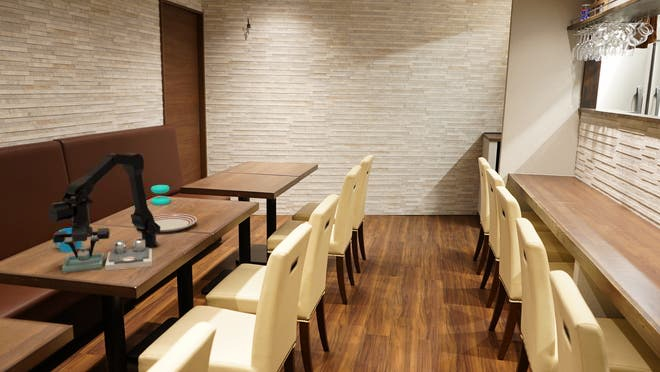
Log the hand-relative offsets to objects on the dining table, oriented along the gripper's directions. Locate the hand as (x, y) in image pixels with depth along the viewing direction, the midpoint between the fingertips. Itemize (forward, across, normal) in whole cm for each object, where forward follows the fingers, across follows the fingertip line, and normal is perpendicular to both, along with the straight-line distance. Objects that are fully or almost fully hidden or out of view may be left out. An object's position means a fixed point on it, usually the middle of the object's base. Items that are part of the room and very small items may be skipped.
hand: (84, 257), depth 199 cm
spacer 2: (0, +12, +4) cm, 13 cm away
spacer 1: (0, 0, 0) cm, 1 cm away
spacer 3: (0, +19, +4) cm, 20 cm away
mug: (+3, -9, +23) cm, 25 cm away
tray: (+3, 0, 0) cm, 3 cm away
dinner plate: (+4, +31, +47) cm, 56 cm away
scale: (+3, +16, -1) cm, 16 cm away
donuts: (+4, +29, +100) cm, 104 cm away
